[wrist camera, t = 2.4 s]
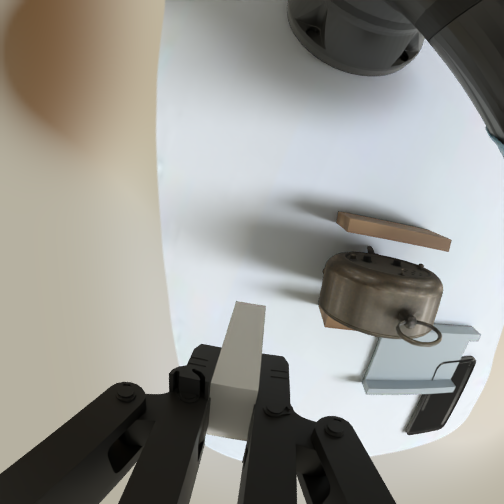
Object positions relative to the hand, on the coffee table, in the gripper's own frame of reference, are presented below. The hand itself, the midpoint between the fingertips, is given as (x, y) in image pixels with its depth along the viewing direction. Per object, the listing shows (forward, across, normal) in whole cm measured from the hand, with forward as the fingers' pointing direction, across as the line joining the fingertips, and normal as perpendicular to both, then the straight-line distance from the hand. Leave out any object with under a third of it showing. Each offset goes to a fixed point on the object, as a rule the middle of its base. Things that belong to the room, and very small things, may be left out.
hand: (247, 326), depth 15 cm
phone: (+17, +31, -18) cm, 39 cm away
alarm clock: (+16, +11, 0) cm, 20 cm away
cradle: (+16, +23, -11) cm, 30 cm away
